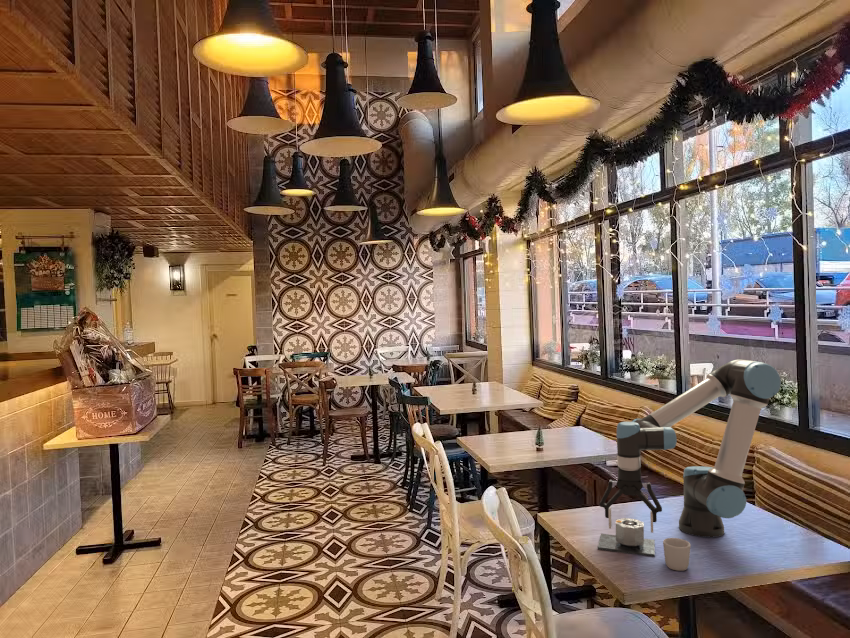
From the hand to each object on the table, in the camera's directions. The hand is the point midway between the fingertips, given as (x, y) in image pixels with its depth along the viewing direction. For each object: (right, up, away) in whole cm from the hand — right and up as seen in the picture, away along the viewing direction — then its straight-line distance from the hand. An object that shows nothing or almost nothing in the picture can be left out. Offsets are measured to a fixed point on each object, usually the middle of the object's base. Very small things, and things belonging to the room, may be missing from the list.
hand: (630, 529), depth 204 cm
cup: (+8, -6, -16) cm, 19 cm away
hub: (0, -4, 0) cm, 4 cm away
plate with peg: (0, -6, 0) cm, 6 cm away
